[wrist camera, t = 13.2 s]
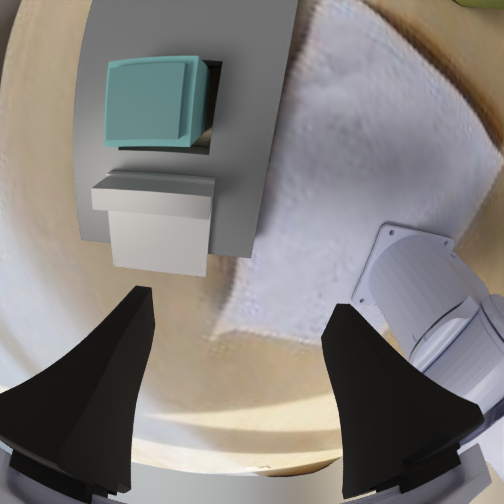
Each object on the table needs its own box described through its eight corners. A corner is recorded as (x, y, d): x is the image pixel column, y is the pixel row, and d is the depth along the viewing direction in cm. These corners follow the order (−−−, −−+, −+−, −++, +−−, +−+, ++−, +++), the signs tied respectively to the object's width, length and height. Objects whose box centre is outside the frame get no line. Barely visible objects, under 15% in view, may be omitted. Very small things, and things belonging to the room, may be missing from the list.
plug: (211, 71, 14) (196, 53, 8) (204, 131, 16) (187, 149, 10) (148, 72, 13) (102, 60, 8) (144, 130, 15) (98, 149, 10)
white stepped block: (215, 178, 15) (211, 193, 13) (206, 271, 18) (203, 296, 16) (110, 171, 14) (90, 184, 12) (116, 261, 17) (103, 284, 15)
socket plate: (293, -6, 11) (301, -20, 9) (249, 240, 20) (250, 258, 18) (112, -9, 9) (98, -19, 7) (94, 224, 18) (81, 240, 16)
